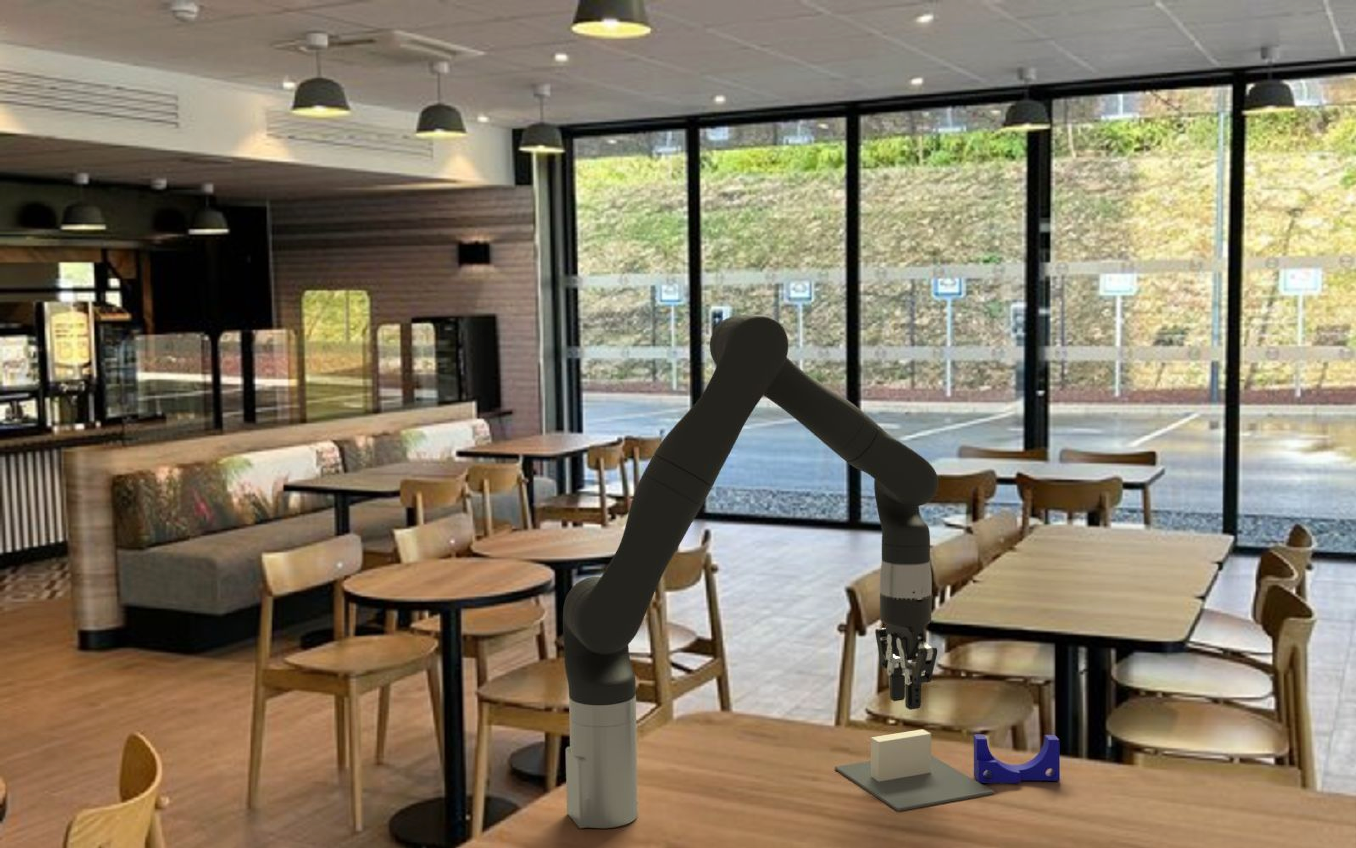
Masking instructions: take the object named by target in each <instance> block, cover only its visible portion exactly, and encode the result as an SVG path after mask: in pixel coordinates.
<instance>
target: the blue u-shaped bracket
mask: <svg viewBox="0 0 1356 848" xmlns="http://www.w3.org/2000/svg"><path fill="white" fill-rule="evenodd" d="M1060 749H1061V748H1060V739H1059V738H1058V737H1057V736H1056V734H1044V740H1043V745H1042V746H1041V748H1040V751H1039V752H1038V754H1037V755H1036V756H1034V757H1033V758H1032V759H1030V760H1029V761H1026V762H1024V763H1019V764H1009V763H1005V762H1003V761H1000V760H998V759H997V758H996V757H995V756H993V754H992V752H991V751H990V748H989V744H988V738H987V737H986V736H985V734H984V733H983V734H977V733H976V734H973V775H974V777H975V779H976V781H977V782H979V783H981V784H982V783H988V784H989V783H992V784H993V783H994V784H995V783H996V784H1007V783H1008V784H1021V781H1047V782H1049V781H1052V782H1054V781H1055V782H1057V781H1059V782H1060V781H1061V780H1060V779H1061V778H1060V777H1061V776H1060V773H1061V772H1060V771H1061V769H1060V768H1061V767H1060V765H1061V764H1060V761H1061V760H1060V759H1061V758H1060V757H1061V755H1060V751H1061V750H1060ZM1048 770H1050V772H1047V771H1048Z"/></svg>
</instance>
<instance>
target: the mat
mask: <svg viewBox="0 0 1356 848" xmlns="http://www.w3.org/2000/svg"><path fill="white" fill-rule="evenodd" d="M834 770H836V771H837V772H839V773H840V774H841V775H843V776H844V777H846V778H847V779H849V780H851V782H853V783H854V784H856V785H858V786H859V787H860V788H862V789H864V790H865V791H867V792H868V793H869V794H871V795H873V796H874V797H876V798H877V799H879V800H880V801H882V802H884V803H885V804H887V806H889V807H891V808H892V809H894V810H895V811H896V812H902V811H906V810H912V809H918V808H923V807H929V806H936V805H939V804H944V803H945V804H946V803H950V802H956V801H962V800H966V799H972V798H978V797H979V798H980V797H983V796H988V795H994V794H995V791H994V790H993V789H991V788H989V787H988V786H986V785H984V784H982V782H978V780H975V779H974V778H972V777H970V776H968V775H967V774H964V773H963V772H961V771H959V770H958V769H956V768H954V767H953V766H950V764H947V763H946V762H943V761H941V760H940V759H939V758H937V757H934V755H931V773H926V774H920V775H914V776H908V777H902V778H897V779H891V780H885V781H879V782H878V781H877V780H875V779H874V778H872V777H871V760H869V761H861V762H856V763H848V764H843V765H838V766H835V767H834Z"/></svg>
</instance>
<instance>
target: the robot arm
mask: <svg viewBox="0 0 1356 848" xmlns="http://www.w3.org/2000/svg"><path fill="white" fill-rule="evenodd" d="M709 340H710V341H709V352H710V355H711V358H712V361H713V363H714V364H715V366H716V368H715V369H714V372H713V373H712V376H711V378H710V380H709V382H708V384H707V386H705V387H706V388H705V389H704V391H703V392H702V394H701V396H699V398H698V399H697V401H695V402H696V403H695V404H694V405H693V406H692V407H691V408H690V409H689V410H688V411H687V412H686V413H685V414H684V415H683V417H682V418H681V419H680V420H679V421H678V422H677V423H676V424H675V425H674V426H673V428H671V430H670V431H669V432H668V433H667V434H666V436H665V437H664V438H663V440H661V442H660V444H659V445H658V446H657V448H656V450H655V451H654V453H653V455H652V457H651V459H650V460H649V462H648V464H647V466H646V468H645V470H644V471H643V473H642V475H641V477H640V479H639V482H638V483H637V486H636V488H635V491H634V494H633V496H632V500H631V503H630V507H629V510H628V515H627V518H626V523H625V526H624V531H623V534H622V538H621V540H620V543H619V545H618V547H617V550H616V551H615V553H614V555H613V557H612V558H611V561H610V562H609V564H608V565H607V567H606V568H605V570H604V571H603V573H602V575H601V576H590V577H589V576H588V577H586V578H583V579H581V580H579V581H578V582H577V583H576V584H574V585H573V586H572V587H571V589H570V590H569V592H568V593H567V595H566V597H565V600H564V604H563V610H562V633H563V634H562V635H563V653H564V654H563V656H564V657H563V658H564V669H565V670H564V671H565V675H566V679H567V684H568V708H569V711H568V712H569V746H567V747H566V748H565V775H566V776H565V779H566V780H565V781H566V785H565V786H566V813H567V815H568V816H569V817H570V818H571V820H572V821H573V823H574V824H576V825H577V827H578V828H579V829H585V828H591V829H592V828H595V829H611V828H612V829H613V828H617V827H618V828H619V827H621V826H625V825H628V824H630V823H631V822H634V821H635V820H636V819H637V818H638V814H639V812H638V811H639V810H638V808H639V801H638V800H639V796H638V749H637V747H638V745H637V744H638V743H637V740H638V739H637V694H636V693H637V692H636V690H637V687H636V685H637V683H636V682H637V681H636V675H635V672H634V669H633V666H632V662H631V657H630V649H629V645H630V643H631V642H632V640H633V639H634V638H635V637H636V635H637V634H638V632H639V630H640V628H641V626H642V623H643V621H644V619H645V617H646V614H647V612H648V609H649V607H650V604H651V602H652V599H653V597H654V595H655V592H656V591H657V588H658V586H659V584H660V581H661V578H662V577H663V575H664V573H665V570H666V568H667V567H668V565H669V563H670V561H671V560H672V559H673V557H674V555H675V553H676V551H677V550H678V548H679V546H680V545H681V543H682V541H683V540H684V537H685V536H686V534H687V532H688V531H689V529H690V527H691V525H692V523H693V521H694V520H695V518H696V517H697V515H698V513H699V512H700V510H701V508H702V507H703V505H704V502H705V501H706V500H707V497H708V495H709V494H710V491H711V490H712V488H713V486H714V485H715V483H716V480H717V479H718V476H719V474H720V472H721V470H722V468H723V467H724V465H725V463H726V461H727V460H728V457H729V455H730V453H731V452H732V449H733V447H734V445H735V443H736V442H737V440H738V437H739V435H740V434H741V431H742V429H743V428H744V426H745V425H746V423H747V421H748V418H749V417H750V416H751V414H752V412H753V411H754V410H755V408H756V407H757V405H758V404H759V402H760V400H762V398H763V396H764V397H765V398H766V399H768V400H770V401H771V402H773V403H774V404H775V405H777V406H778V407H780V408H781V409H783V411H785V412H786V413H787V414H788V415H790V416H792V417H793V419H794V420H795V421H797V422H799V424H801V425H802V426H804V427H805V428H806V429H807V430H808V431H809V432H810V433H811V434H812V435H814V436H815V437H816V438H817V439H819V440H820V441H821V443H823V444H824V445H826V446H827V448H829V449H830V450H832V451H833V452H834V453H835V454H836V455H838V456H839V457H840V458H841V459H842V460H843V461H845V462H846V463H847V464H849V465H850V466H851V467H854V468H855V469H857V470H859V471H861V472H864V473H866V474H868V475H869V476H870V477H871V478H872V479H874V481H873V483H874V484H873V485H874V487H873V489H874V498H875V504H876V508H877V513H878V519H879V522H880V528H881V563H880V564H881V567H880V570H879V571H880V573H879V620H880V621H881V623H883V624H885V627H882V628H876V629H875V631H874V633H875V639H876V643H877V650H878V656H879V661H880V666H881V669H886V674H887V675H888V676H889V699H890V700H891V701H893V702H899V701H905V705H904V706H905V708H906V709H907V710H918V709H920V708H921V705H922V685H923V684H925V683H926V684H927V683H931V682H932V677H933V673H934V670H935V669H934V668H935V664H936V660H937V656H938V648H937V647H936V646H930V645H929V644H928V643H927V638H926V634H925V633H926V632H925V627H926V626H927V625H929V624H930V623H931V622H932V595H933V594H932V590H933V589H932V588H933V585H932V584H933V582H932V580H933V578H932V568H931V534H930V527H929V526H928V524H927V523H926V522H925V521H924V520H923V518H922V516H921V514H920V506H924V505H926V504H928V503H930V502H931V501H932V500H933V499H934V497H935V496H936V495H937V492H938V490H939V479H938V478H939V477H938V474H937V472H936V470H935V468H934V466H933V465H932V464H931V463H930V462H929V461H928V460H926V458H924V457H923V456H921V455H920V454H919V453H917V452H916V451H915V450H913V449H912V448H910V447H908V446H907V445H905V444H904V443H902V442H901V441H900V440H898V439H896V438H895V437H893V436H892V435H890V434H889V433H888V432H887V431H885V430H884V429H883V428H882V427H881V426H880V425H879V424H878V423H876V421H874V420H873V419H872V418H871V417H870V416H868V414H866V413H865V412H864V411H862V410H861V409H860V408H859V407H858V406H856V405H855V404H854V403H852V401H849V400H848V399H847V398H845V397H844V396H842V395H841V394H839V393H837V392H836V391H834V390H832V389H831V388H829V387H828V386H826V385H825V384H823V383H822V382H819V381H818V380H817V379H815V378H814V377H812V376H811V375H809V374H808V373H806V372H805V371H804V370H802V369H801V368H800V367H798V366H797V365H796V363H794V362H793V361H792V360H790V358H789V357H788V353H789V339H788V334H787V332H786V329H785V328H784V326H783V325H782V324H781V322H779V321H778V320H777V319H775V318H773V317H771V316H768V315H764V314H750V313H749V314H736V315H733V316H729V317H726V318H725V319H723V320H722V321H721V322H719V323H718V324H717V325H716V326H715V328H713V331H712V333H711V336H710V339H709ZM914 660H916V661H914ZM909 661H912V662H909ZM912 669H913V671H912ZM904 699H905V700H904Z"/></svg>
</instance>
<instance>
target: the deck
mask: <svg viewBox="0 0 1356 848" xmlns="http://www.w3.org/2000/svg"><path fill="white" fill-rule="evenodd" d="M931 756H932V733H931V732H929V731H927V730H926V729H916V730H910V731H904V732H897V733H891V734H884V735H878V736H873V737H870V761H871V777H872V778H874V779H875V780H877V781H878V782H879V781H885V780H891V779H897V778H902V777H908V776H914V775H920V774H926V773H931Z"/></svg>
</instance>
